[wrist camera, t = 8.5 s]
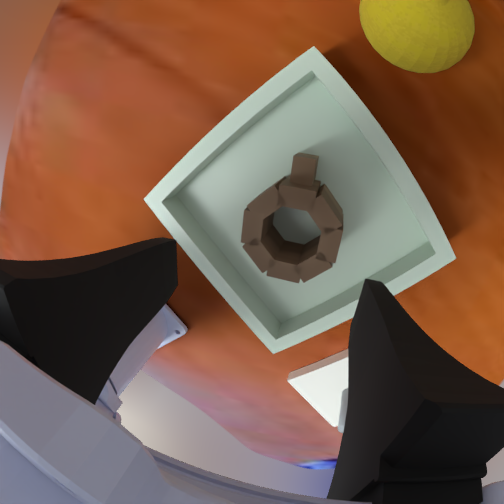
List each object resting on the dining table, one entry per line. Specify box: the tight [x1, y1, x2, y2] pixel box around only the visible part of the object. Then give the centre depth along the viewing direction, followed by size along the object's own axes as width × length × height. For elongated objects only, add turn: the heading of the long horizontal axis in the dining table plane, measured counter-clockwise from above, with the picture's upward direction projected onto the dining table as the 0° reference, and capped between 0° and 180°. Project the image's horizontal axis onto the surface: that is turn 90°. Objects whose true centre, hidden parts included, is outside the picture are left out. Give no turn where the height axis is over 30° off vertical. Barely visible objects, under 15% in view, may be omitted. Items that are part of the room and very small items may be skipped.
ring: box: [241, 152, 344, 283], centre depth 17 cm, size 7×5×3 cm
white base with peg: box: [287, 349, 348, 433], centre depth 21 cm, size 8×8×5 cm
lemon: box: [359, 0, 475, 73], centre depth 9 cm, size 6×6×8 cm
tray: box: [144, 46, 456, 354], centre depth 18 cm, size 14×14×2 cm
